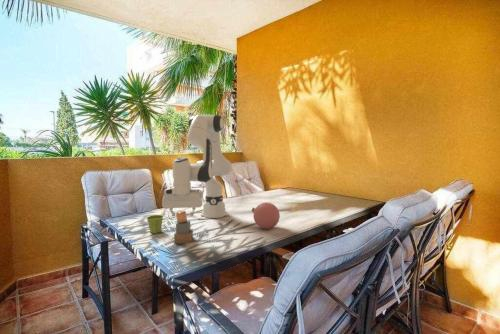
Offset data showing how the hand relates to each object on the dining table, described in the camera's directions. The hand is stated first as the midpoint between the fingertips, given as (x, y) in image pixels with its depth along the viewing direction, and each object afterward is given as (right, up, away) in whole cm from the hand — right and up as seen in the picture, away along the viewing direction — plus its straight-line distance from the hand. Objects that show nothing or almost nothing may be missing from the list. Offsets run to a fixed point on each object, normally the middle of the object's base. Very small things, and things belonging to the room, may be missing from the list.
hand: (182, 215), depth 151 cm
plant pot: (-20, -12, +16) cm, 28 cm away
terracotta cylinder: (0, -3, 0) cm, 3 cm away
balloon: (+43, -11, +23) cm, 50 cm away
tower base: (0, -13, +1) cm, 13 cm away
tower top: (0, -8, +1) cm, 8 cm away
